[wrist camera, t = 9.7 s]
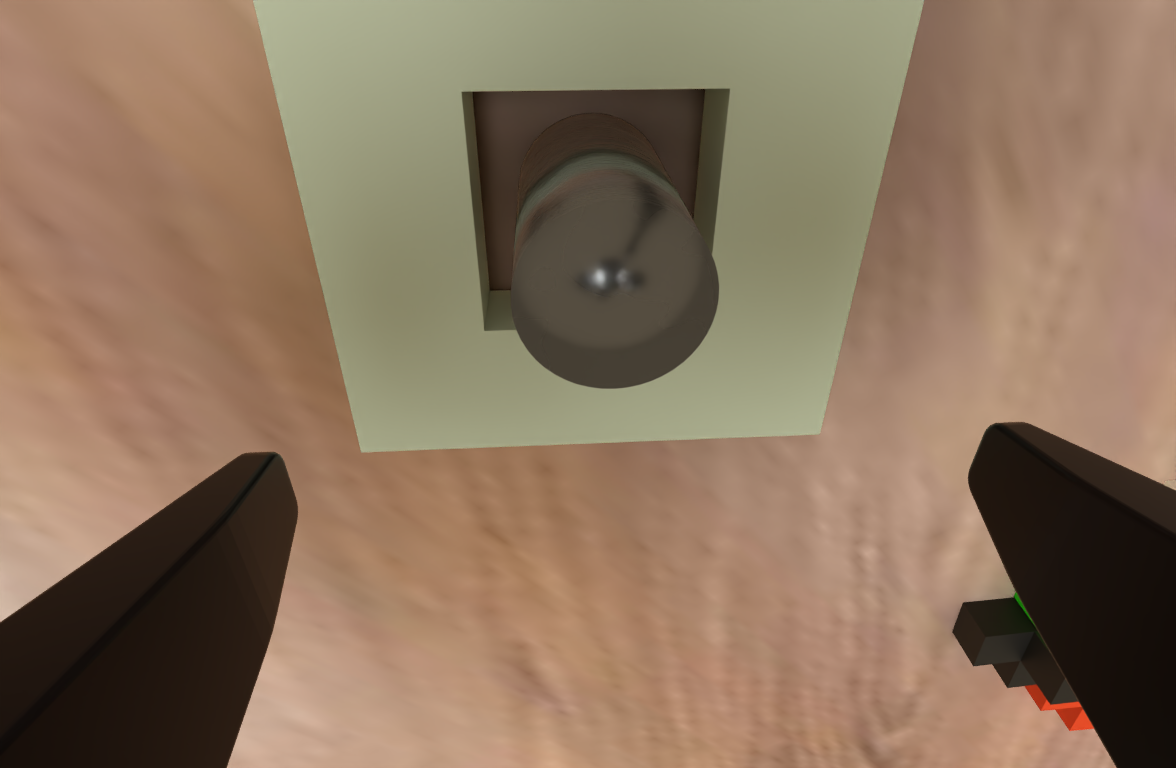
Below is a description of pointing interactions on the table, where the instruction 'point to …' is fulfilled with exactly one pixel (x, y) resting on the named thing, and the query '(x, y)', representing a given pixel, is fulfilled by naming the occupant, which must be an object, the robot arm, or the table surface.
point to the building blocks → (1019, 653)
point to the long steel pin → (607, 258)
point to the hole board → (455, 214)
